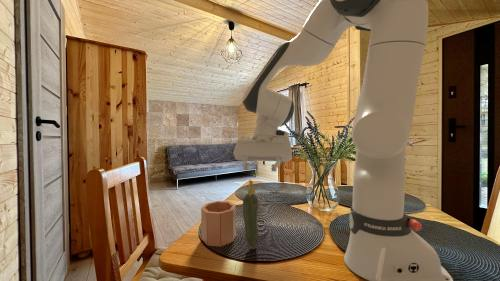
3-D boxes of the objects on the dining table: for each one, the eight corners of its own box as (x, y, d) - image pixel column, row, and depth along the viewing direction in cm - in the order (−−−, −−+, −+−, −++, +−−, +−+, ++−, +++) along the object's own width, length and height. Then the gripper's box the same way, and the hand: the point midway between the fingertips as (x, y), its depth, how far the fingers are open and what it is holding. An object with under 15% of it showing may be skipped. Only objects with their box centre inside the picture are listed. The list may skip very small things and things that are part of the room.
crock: (238, 231, 77) (238, 202, 76) (230, 247, 67) (230, 214, 66) (209, 228, 79) (209, 200, 78) (198, 244, 69) (197, 212, 68)
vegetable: (257, 254, 64) (256, 183, 62) (241, 253, 64) (240, 182, 63) (259, 246, 68) (259, 179, 66) (245, 244, 69) (244, 178, 67)
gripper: (235, 131, 85) (227, 163, 76) (292, 132, 80) (289, 165, 71) (239, 142, 90) (231, 173, 81) (293, 143, 85) (291, 176, 76)
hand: (259, 169), depth 76 cm, fingers open, 8 cm apart
